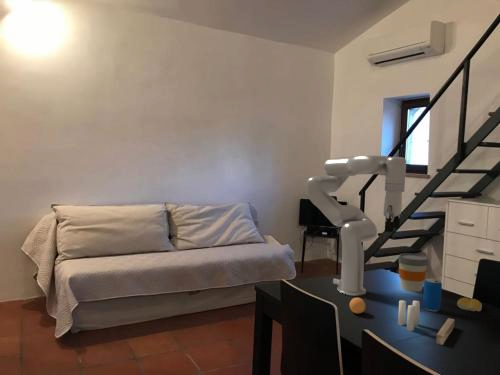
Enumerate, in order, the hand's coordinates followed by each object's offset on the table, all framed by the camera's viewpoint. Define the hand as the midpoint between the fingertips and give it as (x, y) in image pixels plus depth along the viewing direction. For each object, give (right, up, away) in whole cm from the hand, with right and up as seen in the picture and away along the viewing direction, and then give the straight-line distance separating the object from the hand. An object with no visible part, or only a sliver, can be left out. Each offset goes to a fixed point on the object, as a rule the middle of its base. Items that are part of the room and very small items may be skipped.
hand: (392, 229), depth 175 cm
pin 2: (+3, -33, -17) cm, 37 cm away
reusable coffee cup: (+17, -30, +25) cm, 42 cm away
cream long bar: (+10, -34, -26) cm, 44 cm away
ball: (-16, -29, -7) cm, 34 cm away
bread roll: (+32, -32, +1) cm, 46 cm away
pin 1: (-1, -33, -22) cm, 40 cm away
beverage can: (+15, -32, -1) cm, 36 cm away
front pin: (-2, -33, -17) cm, 37 cm away
